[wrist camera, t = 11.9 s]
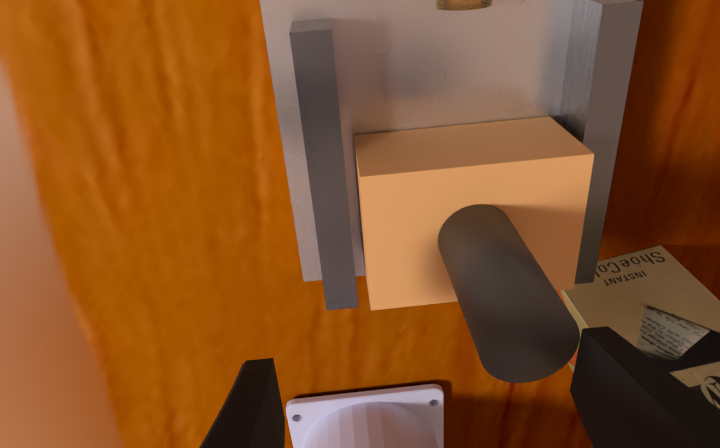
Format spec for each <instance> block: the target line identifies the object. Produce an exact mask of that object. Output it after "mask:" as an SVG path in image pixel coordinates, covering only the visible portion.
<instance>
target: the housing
mask: <svg viewBox="0 0 720 448" xmlns="http://www.w3.org/2000/svg"><path fill="white" fill-rule="evenodd" d="M490 6H492V0H436V8H437V9H439V10H447V11H463V10H475V9H482V8H487V7H490Z"/></svg>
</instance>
